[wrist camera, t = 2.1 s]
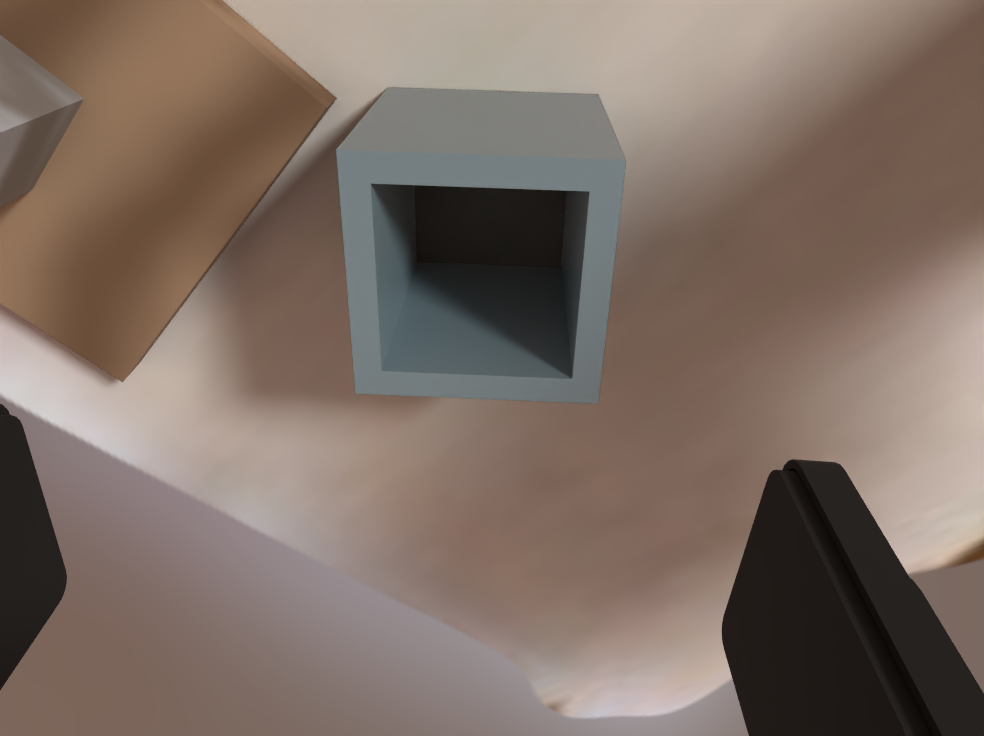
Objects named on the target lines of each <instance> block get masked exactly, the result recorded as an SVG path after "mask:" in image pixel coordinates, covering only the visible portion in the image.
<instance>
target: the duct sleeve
mask: <svg viewBox="0 0 984 736" xmlns="http://www.w3.org/2000/svg"><path fill="white" fill-rule="evenodd" d="M336 156H337V169H338V181H339V194H340V206H341V219H342V232H343V244H344V257H345V270H346V282H347V295H348V307H349V320H350V333H351V345H352V358H353V371H354V383H355V394H373V395H397V396H421V397H445V398H469V399H493V400H516V401H540V402H564V403H588V404H598V400H599V391H600V382H601V374H602V365H603V356H604V348H605V339H606V330H607V322H608V313H609V304H610V296H611V287H612V278H613V270H614V261H615V252H616V244H617V235H618V226H619V218H620V209H621V200H622V191H623V183H624V174H625V165H626V159H625V156H624V154H623V151H622V149H621V147H620V144H619V142H618V140H617V137H616V135H615V132H614V130H613V128H612V125H611V123H610V121H609V118H608V116H607V113H606V111H605V109H604V106H603V104H602V101H601V99H600V97H599V94H573V93H543V92H514V91H484V90H455V89H425V88H395V87H388V88H387V89H386V90H385V91H384V92H383V94H382V95H381V96H380V97H379V98H378V100H377V101H376V102H375V103H374V105H373V106H372V107H371V108H370V109H369V111H368V112H367V113H366V114H365V115H364V117H363V118H362V119H361V120H360V121H359V123H358V124H357V125H356V126H355V127H354V129H353V130H352V131H351V132H350V134H349V135H348V136H347V137H346V138H345V140H344V141H343V142H342V143H341V144H340V146H339V147H338V148H337V149H336ZM414 185H425V186H452V187H480V188H507V189H535V190H562V191H567V195H566V208H565V221H564V234H563V247H562V260H561V267H540V266H514V265H488V264H462V263H436V262H417V260H416V224H415V188H414Z"/></svg>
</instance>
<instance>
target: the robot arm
mask: <svg viewBox="0 0 984 736" xmlns="http://www.w3.org/2000/svg"><path fill="white" fill-rule="evenodd" d="M66 580H67V575H66V569H65V566H64V563H63V559H62V556H61V553H60V549H59V546H58V543H57V539H56V536H55V532H54V529H53V526H52V522H51V519H50V516H49V513H48V509H47V506H46V502H45V499H44V496H43V492H42V489H41V486H40V482H39V479H38V476H37V473H36V469H35V466H34V462H33V459H32V456H31V453H30V449H29V446H28V442H27V439H26V436H25V432H24V429H23V426H22V424H21V422H20V420H19V419H18V418H17V417H15V416H12V415H10V414H9V411H8V410H7V409H6V408H5V407H4V406H3V405H2V404H0V690H1V688H2V687H3V685H4V684H5V682H6V681H7V680H8V678H9V676H10V675H11V673H12V672H13V670H14V669H15V668H16V666H17V665H18V663H19V662H20V660H21V659H22V657H23V656H24V654H25V653H26V651H27V650H28V648H29V647H30V645H31V644H32V642H33V641H34V639H35V638H36V637H37V635H38V634H39V632H40V631H41V629H42V628H43V626H44V625H45V623H46V622H47V620H48V619H49V617H50V616H51V614H52V613H53V611H54V610H55V608H56V607H57V605H58V604H59V602H60V600H61V599H62V597H63V594H64V591H65V587H66ZM722 641H723V646H724V650H725V654H726V657H727V661H728V664H729V668H730V671H731V675H732V678H733V682H734V685H735V689H736V692H737V696H738V699H739V702H740V706H741V709H742V713H743V717H744V720H745V723H746V727H747V731H748V734H749V736H984V693H983V692H982V690H981V689H980V687H979V685H978V683H977V682H976V680H975V678H974V677H973V675H972V673H971V672H970V670H969V669H968V667H967V666H966V664H965V662H964V660H963V659H962V657H961V655H960V654H959V652H958V650H957V649H956V647H955V646H954V644H953V643H952V641H951V639H950V637H949V636H948V634H947V632H946V631H945V629H944V627H943V626H942V624H941V622H940V621H939V619H938V617H937V616H936V614H935V613H934V611H933V609H932V608H931V606H930V604H929V603H928V601H927V599H926V598H925V596H924V594H923V593H922V591H921V590H920V589H919V588H918V586H917V585H916V584H915V582H914V581H913V580H912V579H910V578H909V576H908V574H907V573H906V571H905V569H904V568H903V566H902V564H901V563H900V561H899V559H898V558H897V556H896V554H895V553H894V551H893V549H892V548H891V546H890V544H889V543H888V541H887V539H886V538H885V536H884V534H883V533H882V531H881V529H880V528H879V526H878V524H877V523H876V521H875V519H874V518H873V516H872V514H871V513H870V511H869V509H868V508H867V506H866V505H865V503H864V501H863V500H862V498H861V496H860V495H859V493H858V491H857V490H856V488H855V486H854V485H853V483H852V481H851V480H850V478H849V476H848V475H847V473H846V471H845V470H844V469H843V467H842V466H841V465H840V464H838V463H835V462H821V461H807V460H790V461H788V462H787V463H786V464H785V465H784V468H783V470H773V471H772V472H771V473H770V474H769V477H768V479H767V482H766V485H765V488H764V491H763V494H762V498H761V501H760V504H759V507H758V510H757V513H756V516H755V520H754V523H753V526H752V529H751V532H750V535H749V538H748V541H747V545H746V548H745V551H744V554H743V557H742V560H741V563H740V567H739V570H738V573H737V576H736V579H735V582H734V585H733V588H732V592H731V595H730V598H729V601H728V604H727V607H726V610H725V613H724V617H723V622H722Z"/></svg>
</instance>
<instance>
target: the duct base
mask: <svg viewBox="0 0 984 736" xmlns="http://www.w3.org/2000/svg"><path fill="white" fill-rule="evenodd" d="M336 99H337V98H336V97H335V96H333V95H332V94H331V93H330V92H329V91H328V90H326V89H325V88H324V87H323V86H322V85H321V84H319V83H318V82H317V81H316V80H315V79H314V78H312V77H311V76H310V75H309V74H308V73H307V72H305V71H304V70H303V69H302V68H301V67H300V66H298V65H297V64H296V63H295V62H294V61H293V60H291V59H290V58H289V57H288V56H287V55H286V54H284V53H283V52H282V51H281V50H280V49H278V48H277V47H276V46H275V45H274V44H273V43H271V42H270V41H269V40H268V39H267V38H266V37H264V36H263V35H262V34H261V33H260V32H259V31H257V30H256V29H255V28H254V27H253V26H252V25H250V24H249V23H248V22H247V21H246V20H245V19H243V18H242V17H241V16H240V15H239V14H238V13H236V12H235V11H234V10H233V9H232V8H231V7H229V6H228V5H227V4H226V3H225V2H224V1H222V0H0V304H1V305H3V306H5V307H6V308H8V309H9V310H11V311H12V312H14V313H16V314H17V315H19V316H20V317H22V318H23V319H25V320H26V321H28V322H30V323H31V324H33V325H34V326H36V327H37V328H39V329H40V330H42V331H44V332H45V333H47V334H48V335H50V336H51V337H53V338H54V339H56V340H58V341H59V342H61V343H62V344H64V345H65V346H67V347H68V348H70V349H72V350H73V351H75V352H76V353H78V354H79V355H81V356H82V357H84V358H86V359H87V360H89V361H90V362H92V363H93V364H95V365H97V366H98V367H100V368H101V369H103V370H104V371H106V372H107V373H109V374H111V375H112V376H114V377H115V378H117V379H118V380H120V381H121V382H123V381H124V380H125V379H126V378H127V377H128V375H129V374H130V373H131V372H132V371H133V370H134V369H135V367H136V366H137V365H138V364H139V363H140V362H141V360H142V359H143V357H144V356H145V355H146V353H147V352H148V351H149V349H150V348H151V347H152V345H153V344H154V343H155V341H156V340H157V339H158V337H159V336H160V335H161V333H162V332H163V331H164V329H165V328H166V327H167V325H168V324H169V323H170V321H171V320H172V319H173V317H174V316H175V315H176V313H177V312H178V311H179V309H180V308H181V307H182V305H183V304H184V303H185V301H186V300H187V298H188V297H189V296H190V294H191V293H192V292H193V290H194V289H195V288H196V286H197V285H198V284H199V282H200V281H201V280H202V278H203V277H204V276H205V274H206V273H207V272H208V270H209V269H210V268H211V266H212V265H213V264H214V262H215V261H216V260H217V258H218V257H219V256H220V254H221V253H222V252H223V250H224V249H225V248H226V246H227V245H228V243H229V242H230V241H231V239H232V238H233V237H234V235H235V234H236V233H237V231H238V230H239V229H240V227H241V226H242V225H243V223H244V222H245V221H246V219H247V218H248V217H249V215H250V214H251V213H252V211H253V210H254V209H255V207H256V206H257V205H258V203H259V202H260V201H261V199H262V198H263V197H264V195H265V194H266V193H267V191H268V190H269V189H270V187H271V186H272V184H273V183H274V182H275V180H276V179H277V178H278V176H279V175H280V174H281V172H282V171H283V170H284V168H285V167H286V166H287V164H288V163H289V162H290V160H291V159H292V158H293V156H294V155H295V154H296V152H297V151H298V150H299V148H300V147H301V146H302V144H303V143H304V142H305V140H306V139H307V138H308V136H309V135H310V134H311V132H312V131H313V129H314V128H315V127H316V125H317V124H318V123H319V121H320V120H321V119H322V117H323V116H324V115H325V113H326V112H327V111H328V109H329V108H330V107H331V105H332V104H333V103H334V101H335V100H336Z"/></svg>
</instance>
